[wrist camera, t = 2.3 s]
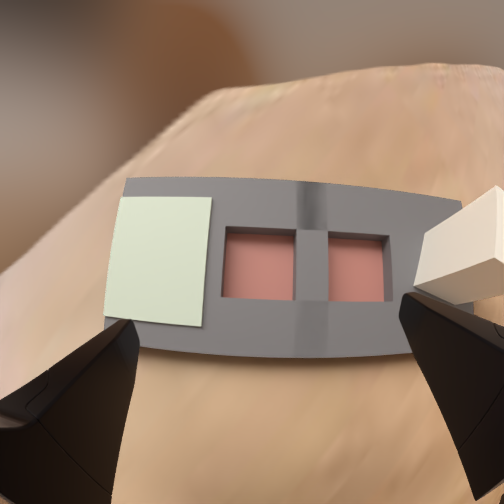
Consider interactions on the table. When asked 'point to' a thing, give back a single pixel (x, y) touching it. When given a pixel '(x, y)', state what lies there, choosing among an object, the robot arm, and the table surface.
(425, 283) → the cream block
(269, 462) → the table surface
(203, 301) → the board
